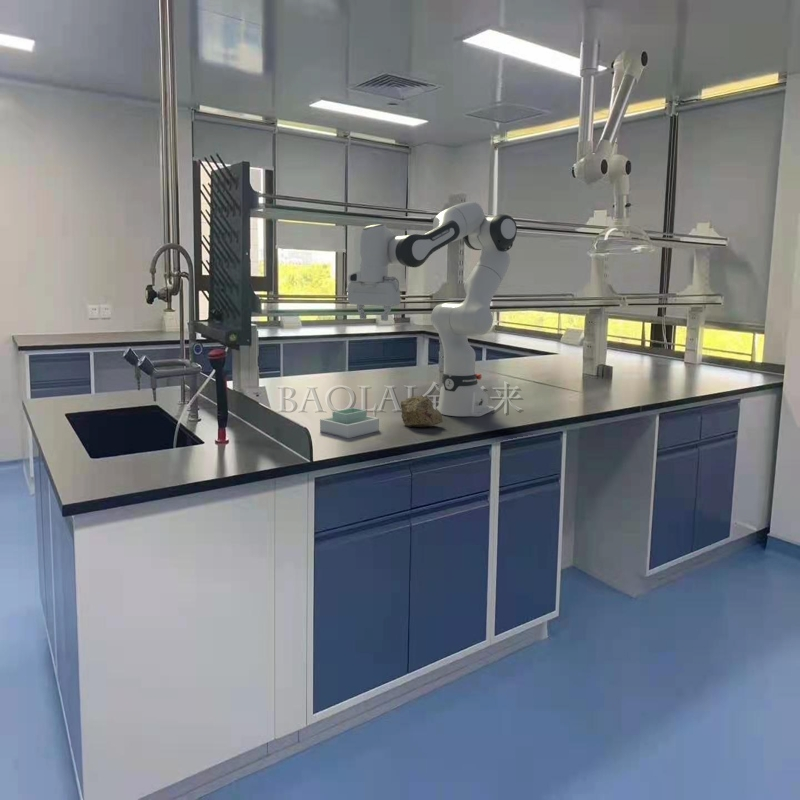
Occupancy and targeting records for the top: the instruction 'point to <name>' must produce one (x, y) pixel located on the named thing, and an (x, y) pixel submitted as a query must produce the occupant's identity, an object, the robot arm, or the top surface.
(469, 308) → the robot arm
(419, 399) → the rock
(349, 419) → the box
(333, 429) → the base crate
